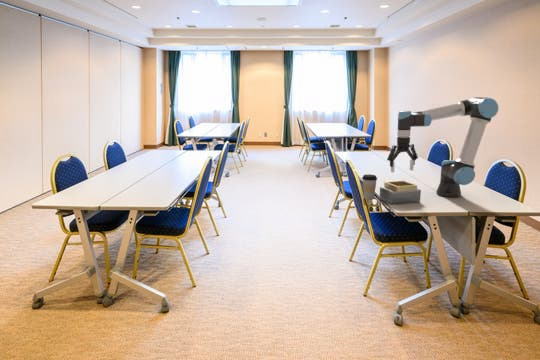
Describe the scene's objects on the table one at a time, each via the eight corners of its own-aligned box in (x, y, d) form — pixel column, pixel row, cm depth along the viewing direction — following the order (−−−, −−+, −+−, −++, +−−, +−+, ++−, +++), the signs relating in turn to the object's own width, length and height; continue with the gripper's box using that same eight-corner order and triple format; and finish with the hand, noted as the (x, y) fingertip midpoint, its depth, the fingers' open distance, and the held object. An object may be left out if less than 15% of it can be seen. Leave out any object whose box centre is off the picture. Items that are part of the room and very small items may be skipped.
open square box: (406, 196, 282) (407, 180, 280) (419, 202, 269) (421, 185, 267) (379, 199, 276) (380, 182, 274) (391, 204, 263) (392, 187, 261)
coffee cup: (373, 201, 271) (375, 177, 268) (359, 199, 276) (360, 176, 272) (377, 198, 279) (379, 175, 276) (363, 196, 284) (364, 173, 280)
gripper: (417, 135, 271) (415, 168, 276) (382, 137, 264) (380, 171, 269) (425, 136, 264) (423, 170, 269) (389, 138, 257) (387, 173, 262)
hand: (402, 171), depth 269 cm, fingers open, 13 cm apart
